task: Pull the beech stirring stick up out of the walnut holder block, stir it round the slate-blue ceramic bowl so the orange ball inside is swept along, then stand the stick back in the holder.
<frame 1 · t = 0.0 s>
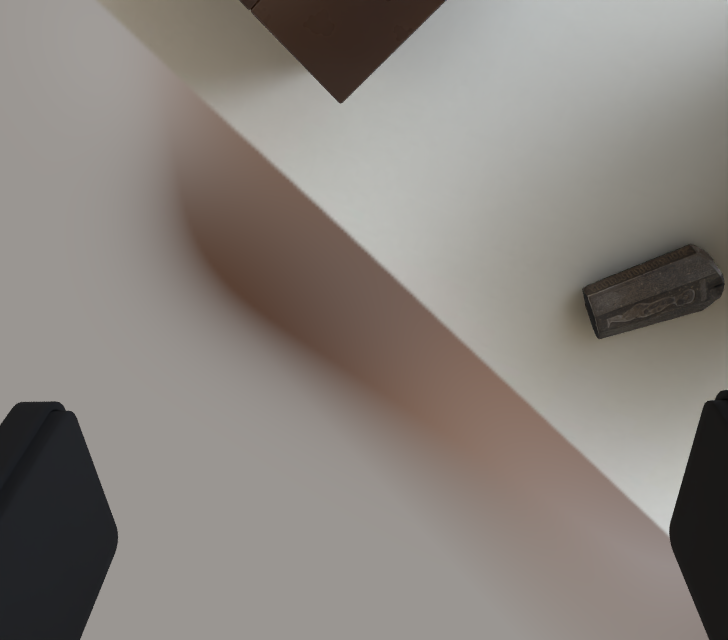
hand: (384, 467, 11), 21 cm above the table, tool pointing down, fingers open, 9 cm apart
block: (646, 284, 33), on the table
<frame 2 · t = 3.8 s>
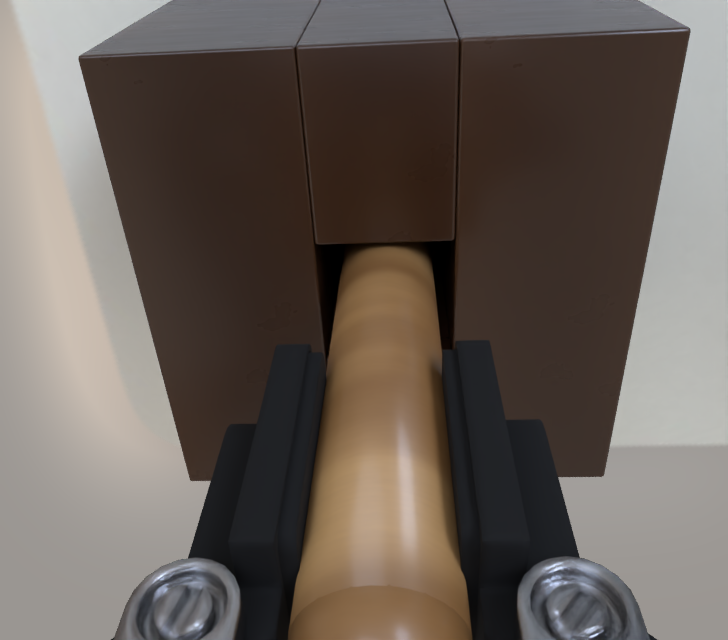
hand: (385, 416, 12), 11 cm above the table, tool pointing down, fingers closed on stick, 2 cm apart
stick: (386, 316, 13), in the holder, touching gripper
holder: (388, 178, 20), on the table
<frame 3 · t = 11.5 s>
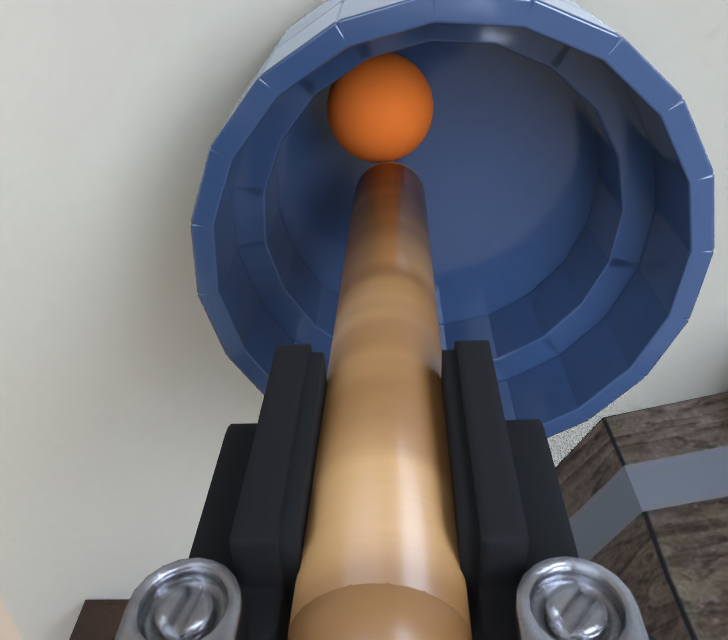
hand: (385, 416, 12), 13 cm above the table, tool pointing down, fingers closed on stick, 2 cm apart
stick: (386, 321, 14), point 10 cm above the table, touching gripper
mug: (701, 454, 29), on the table
mixing bowl: (434, 184, 23), on the table
ball: (379, 108, 19), point 2 cm above the table, tilted 35°, touching mixing bowl
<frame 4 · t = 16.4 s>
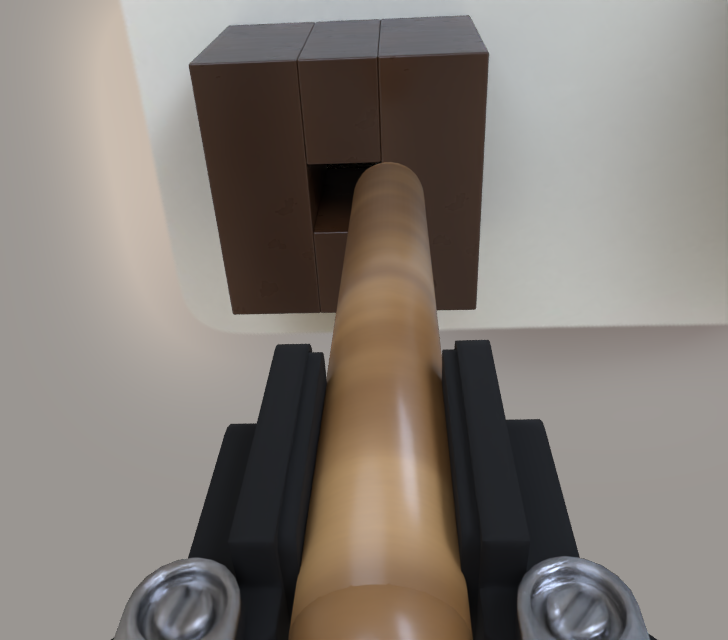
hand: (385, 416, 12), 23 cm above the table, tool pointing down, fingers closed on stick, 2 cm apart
stick: (386, 322, 14), point 20 cm above the table, touching gripper
holder: (354, 139, 32), on the table
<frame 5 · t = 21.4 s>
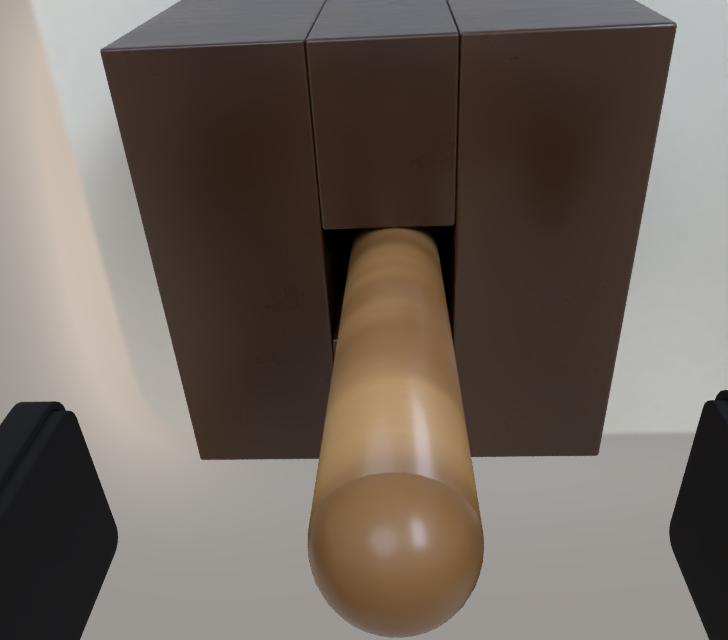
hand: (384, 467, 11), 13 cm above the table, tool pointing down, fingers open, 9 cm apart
stick: (394, 289, 14), in the holder, tilted 6°
holder: (391, 170, 21), on the table
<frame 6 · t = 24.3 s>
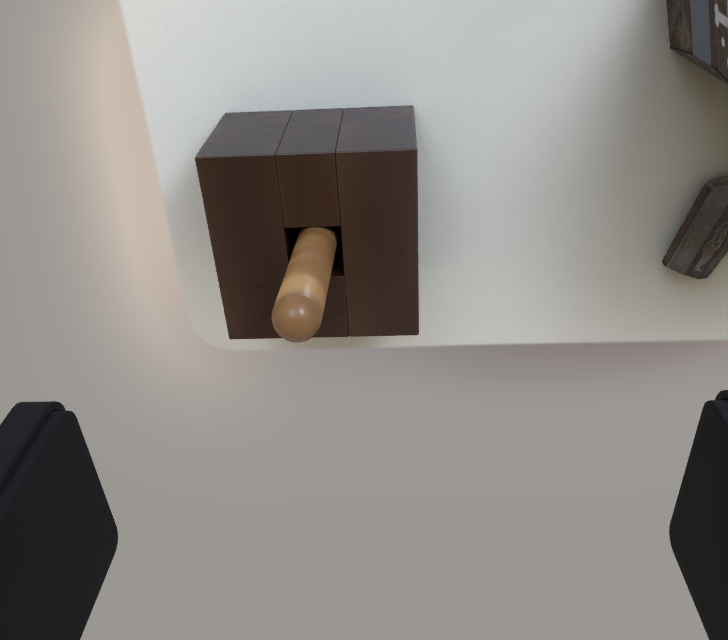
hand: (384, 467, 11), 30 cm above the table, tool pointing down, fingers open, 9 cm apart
stick: (314, 252, 34), in the holder, tilted 6°
block: (707, 221, 41), on the table
holder: (326, 197, 41), on the table
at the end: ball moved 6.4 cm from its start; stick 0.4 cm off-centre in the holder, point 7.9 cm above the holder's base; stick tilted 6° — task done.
